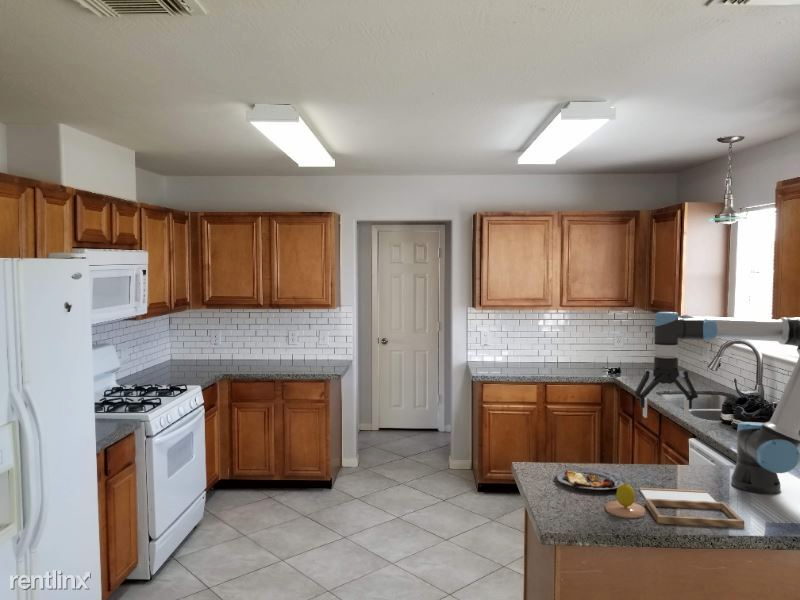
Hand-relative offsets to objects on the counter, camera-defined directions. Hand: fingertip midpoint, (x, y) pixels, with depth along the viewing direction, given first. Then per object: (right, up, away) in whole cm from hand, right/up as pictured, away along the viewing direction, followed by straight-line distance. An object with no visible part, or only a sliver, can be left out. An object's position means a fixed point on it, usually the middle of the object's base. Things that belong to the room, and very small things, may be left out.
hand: (665, 417), depth 204 cm
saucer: (-20, -27, -14) cm, 36 cm away
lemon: (-19, -26, -14) cm, 36 cm away
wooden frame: (0, -27, -18) cm, 33 cm away
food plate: (-22, -27, +13) cm, 37 cm away
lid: (+2, -27, -4) cm, 27 cm away
